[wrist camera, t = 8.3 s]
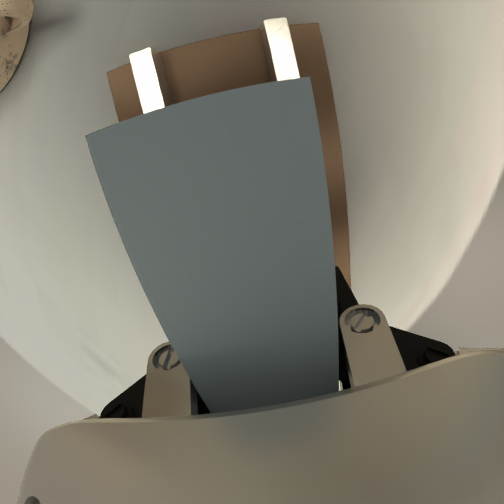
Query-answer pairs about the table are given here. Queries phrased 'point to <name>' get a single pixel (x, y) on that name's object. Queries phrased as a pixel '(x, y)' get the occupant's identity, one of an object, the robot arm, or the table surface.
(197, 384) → the door panel
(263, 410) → the robot arm
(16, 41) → the teacup with lid
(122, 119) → the bottom track
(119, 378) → the table surface
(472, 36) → the table surface
